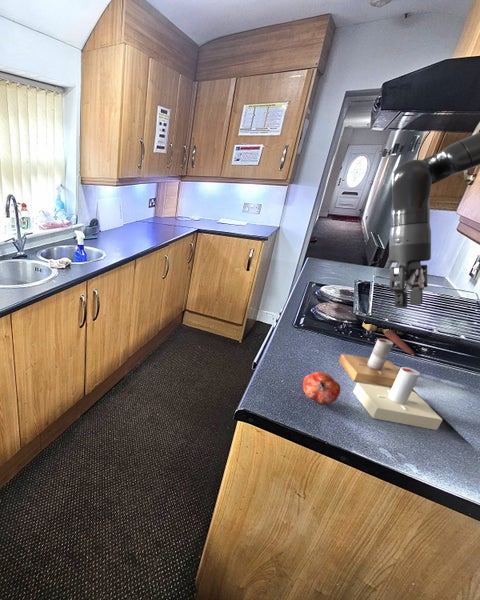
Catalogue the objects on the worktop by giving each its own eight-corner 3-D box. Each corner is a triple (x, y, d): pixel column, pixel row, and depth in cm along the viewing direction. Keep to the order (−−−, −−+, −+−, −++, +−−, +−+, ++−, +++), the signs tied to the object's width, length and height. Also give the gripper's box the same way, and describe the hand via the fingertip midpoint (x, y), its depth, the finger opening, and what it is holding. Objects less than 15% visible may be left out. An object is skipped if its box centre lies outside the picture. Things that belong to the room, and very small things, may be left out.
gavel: (439, 356, 95) (398, 351, 98) (432, 368, 97) (391, 363, 100) (399, 320, 113) (365, 316, 115) (394, 331, 115) (360, 327, 117)
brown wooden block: (386, 370, 94) (390, 360, 92) (407, 391, 85) (412, 381, 84) (338, 362, 97) (341, 353, 96) (353, 382, 88) (357, 372, 87)
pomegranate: (299, 393, 87) (292, 386, 80) (316, 370, 86) (310, 362, 79) (330, 412, 81) (325, 407, 74) (348, 388, 80) (345, 381, 74)
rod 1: (378, 364, 91) (389, 338, 88) (384, 370, 88) (396, 344, 85) (364, 362, 92) (375, 336, 88) (370, 368, 89) (381, 342, 86)
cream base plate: (409, 401, 81) (415, 391, 80) (437, 430, 72) (443, 419, 71) (352, 391, 84) (357, 381, 83) (372, 418, 75) (377, 407, 74)
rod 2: (401, 396, 78) (415, 367, 75) (409, 405, 75) (424, 375, 72) (384, 393, 79) (398, 364, 76) (392, 402, 76) (406, 372, 73)
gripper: (417, 241, 76) (416, 310, 78) (442, 240, 83) (440, 304, 84) (376, 245, 83) (376, 308, 84) (402, 244, 89) (402, 303, 91)
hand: (408, 306), depth 84 cm, fingers open, 8 cm apart
